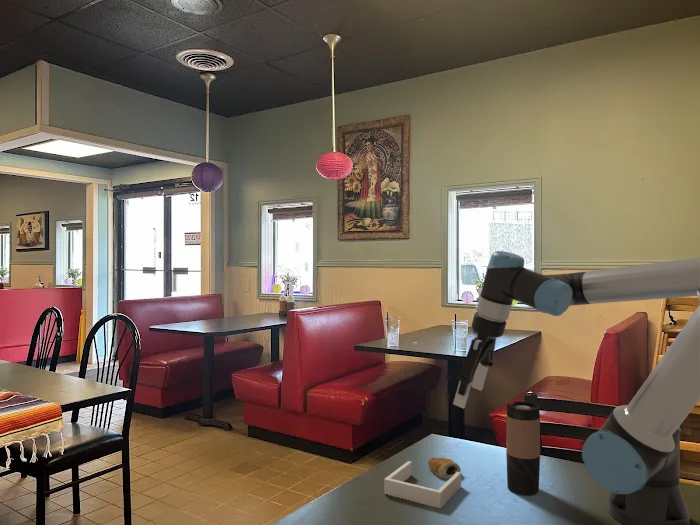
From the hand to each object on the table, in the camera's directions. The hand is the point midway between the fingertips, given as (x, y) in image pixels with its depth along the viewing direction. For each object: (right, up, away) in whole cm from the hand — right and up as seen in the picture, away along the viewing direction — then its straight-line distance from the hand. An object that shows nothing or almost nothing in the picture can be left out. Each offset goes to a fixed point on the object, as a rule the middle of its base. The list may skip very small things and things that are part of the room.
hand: (468, 396), depth 132 cm
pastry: (-5, -22, +7) cm, 23 cm away
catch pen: (-12, -21, -4) cm, 24 cm away
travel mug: (+12, -21, -3) cm, 25 cm away
